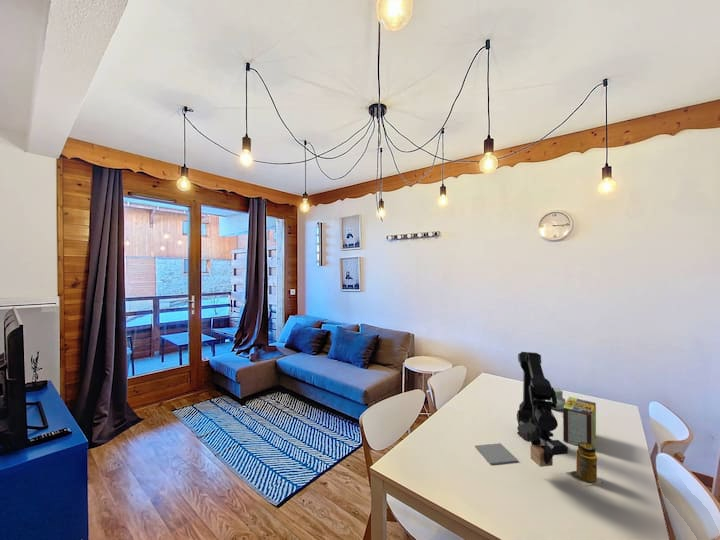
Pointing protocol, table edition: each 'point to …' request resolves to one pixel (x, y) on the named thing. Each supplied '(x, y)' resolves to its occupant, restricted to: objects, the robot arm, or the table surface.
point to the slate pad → (496, 453)
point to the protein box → (579, 421)
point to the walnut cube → (539, 456)
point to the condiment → (586, 465)
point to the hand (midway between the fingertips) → (541, 458)
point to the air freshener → (558, 399)
